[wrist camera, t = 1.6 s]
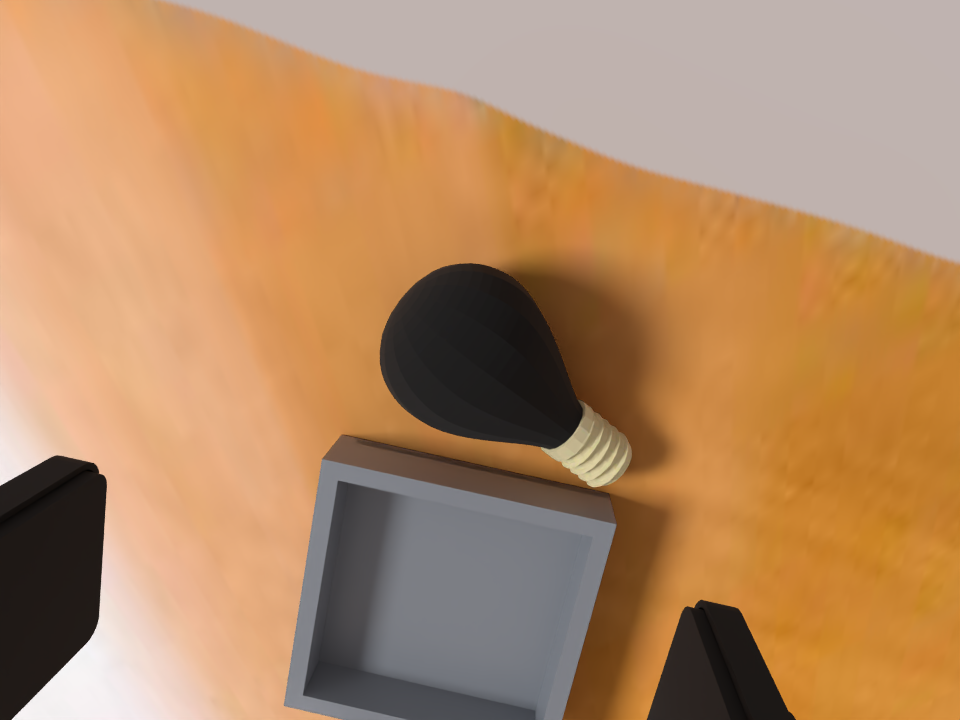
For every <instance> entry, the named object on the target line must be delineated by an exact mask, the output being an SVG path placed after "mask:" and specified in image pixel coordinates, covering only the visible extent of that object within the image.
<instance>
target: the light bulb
mask: <svg viewBox="0 0 960 720" xmlns="http://www.w3.org/2000/svg"><path fill="white" fill-rule="evenodd" d="M380 366H381V371H382V375H383V378H384V381H385V383H386V385H387V387H388V389H389V391H390V392H391V394H392V395H393V397H394V398H395V399H396V400H397V402H398V403H399V404H400V405H401V406H402V407H403V408H404V409H405V410H406V411H408V412H409V413H410V414H411V415H413V416H414V417H416V418H417V419H419V420H420V421H422V422H424V423H426V424H427V425H429V426H431V427H433V428H436V429H438V430H441V431H443V432H447V433H450V434H454V435H457V436H463V437H468V438H473V439H480V440H488V441H497V442H507V443H517V444H525V445H533V446H538V447H541V449H542V451H544V452H545V453H546V454H548V455H549V456H550V457H552V458H553V459H555V460H557V461H559V462H560V461H561V462H562V465H563V466H564V467H566V468H570V471H571V472H572V473H574V474H576V475H577V474H578V477H579V478H580V479H581V480H583V481H586V482H587V484H588V485H589V486H591V487H598V486H604V485H609V484H611V483H613V482H615V481H616V480H617V479H618V478H619V477H621V476H622V475H623V474H624V472H625V471H626V469H627V468H628V466H629V463H630V461H631V458H632V449H631V446H630V444H629V443H628V440H627V438H626V436H625V435H624V434H623V433H621V432H618V430H617V428H616V427H614V426H612V425H610V424H609V422H608V421H607V420H606V419H603V418H602V417H601V416H600V414H599V413H596V412H594V411H593V410H592V408H591V407H590V406H588V405H587V404H586V403H584V402H583V401H581V400H578V399H577V398H576V395H575V393H574V391H573V388H572V385H571V383H570V380H569V377H568V374H567V371H566V369H565V366H564V363H563V360H562V357H561V355H560V352H559V349H558V347H557V344H556V342H555V339H554V337H553V335H552V333H551V331H550V328H549V326H548V324H547V322H546V321H545V319H544V317H543V315H542V314H541V312H540V310H539V308H538V307H537V305H536V303H535V302H534V300H533V299H532V297H531V296H530V295H529V293H528V292H527V291H526V290H525V289H524V287H523V286H522V285H521V284H520V283H519V282H517V281H516V280H515V279H514V278H512V277H511V276H509V275H507V274H506V273H504V272H502V271H500V270H498V269H495V268H492V267H489V266H485V265H481V264H472V263H468V264H455V265H450V266H445V267H442V268H440V269H437V270H435V271H433V272H431V273H430V274H428V275H427V276H425V277H424V278H422V279H421V280H419V281H418V282H417V283H416V284H415V285H414V286H413V287H411V288H410V289H409V291H408V292H407V293H406V294H405V295H404V296H403V297H402V299H401V300H400V301H399V303H398V304H397V305H396V307H395V308H394V310H393V312H392V313H391V315H390V317H389V319H388V321H387V323H386V326H385V329H384V331H383V334H382V340H381V347H380Z"/></svg>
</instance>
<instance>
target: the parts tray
mask: <svg viewBox="0 0 960 720" xmlns="http://www.w3.org/2000/svg"><path fill="white" fill-rule="evenodd" d="M616 525H617V523H616V519H615V515H614V512H613V508H612V504H611V500H610V496H609V493H604V492H600V491H595V490H590V489H586V488H581V487H577V486H572V485H568V484H563V483H559V482H554V481H550V480H545V479H541V478H536V477H532V476H527V475H523V474H518V473H513V472H509V471H504V470H500V469H495V468H491V467H486V466H482V465H477V464H473V463H468V462H464V461H459V460H455V459H450V458H445V457H441V456H436V455H432V454H427V453H423V452H418V451H414V450H409V449H405V448H400V447H396V446H391V445H387V444H382V443H377V442H373V441H368V440H364V439H359V438H355V437H350V436H346V435H341V436H340V437H339V439H338V440H337V441H336V442H335V444H334V445H333V446H332V447H331V449H330V450H329V451H328V452H327V454H326V455H325V456H324V457H323V459H322V463H321V470H320V476H319V483H318V489H317V496H316V502H315V509H314V515H313V521H312V528H311V534H310V541H309V547H308V554H307V560H306V566H305V573H304V579H303V586H302V592H301V599H300V605H299V612H298V618H297V624H296V631H295V637H294V644H293V650H292V657H291V663H290V670H289V676H288V682H287V689H286V695H285V702H284V706H287V707H291V708H295V709H299V710H304V711H308V712H312V713H317V714H321V715H325V716H330V717H334V718H338V719H343V720H562V718H563V715H564V711H565V708H566V704H567V700H568V697H569V693H570V690H571V686H572V683H573V679H574V675H575V672H576V668H577V665H578V661H579V658H580V654H581V650H582V647H583V643H584V640H585V636H586V633H587V629H588V625H589V622H590V618H591V615H592V611H593V608H594V604H595V600H596V597H597V593H598V590H599V586H600V583H601V579H602V575H603V572H604V568H605V565H606V561H607V558H608V554H609V550H610V547H611V543H612V540H613V536H614V533H615V529H616Z"/></svg>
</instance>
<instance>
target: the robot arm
mask: <svg viewBox="0 0 960 720" xmlns="http://www.w3.org/2000/svg"><path fill="white" fill-rule="evenodd" d="M106 490H107V481H106V478H105V476H104V475H102V474H99V470H98V467H97V466H96V465H95V464H94V463H91V462H86V461H82V460H77V459H73V458H68V457H64V456H54V457H51V458H49V459H47V460H46V461H44V462H42V463H40V464H39V465H37V466H35V467H33V468H31V469H30V470H28V471H26V472H24V473H22V474H21V475H19V476H17V477H15V478H14V479H12V480H10V481H8V482H6V483H5V484H3V485H1V486H0V720H12V718H13V717H14V716H15V715H16V714H17V713H18V712H19V711H20V710H21V709H22V708H23V707H24V706H25V705H26V704H27V703H28V702H29V701H30V700H31V699H32V698H33V697H34V696H35V695H36V694H37V693H38V692H39V691H40V690H41V689H42V688H43V687H44V686H45V685H46V684H47V683H48V682H49V681H50V680H51V679H52V678H53V677H54V676H55V675H56V674H57V673H58V672H59V671H60V670H61V669H62V668H63V667H64V666H65V665H66V664H67V663H68V662H69V661H70V660H71V658H72V657H73V656H74V655H75V654H76V653H77V652H78V651H79V650H80V649H81V648H82V647H83V646H84V645H85V644H86V643H87V642H88V641H89V640H90V638H91V636H92V635H93V633H94V631H95V629H96V626H97V623H98V619H99V607H100V590H101V573H102V556H103V540H104V523H105V506H106ZM647 720H796V719H795V718H794V716H793V715H792V713H790V712H788V710H787V707H786V705H785V703H784V701H783V699H782V697H781V695H780V693H779V691H778V689H777V687H776V684H775V682H774V680H773V678H772V676H771V674H770V672H769V670H768V668H767V666H766V664H765V661H764V659H763V657H762V655H761V653H760V651H759V649H758V647H757V645H756V643H755V641H754V639H753V636H752V634H751V632H750V630H749V628H748V626H747V624H746V622H745V620H744V618H743V616H742V613H741V612H740V610H739V609H738V608H735V607H731V606H726V605H722V604H717V603H713V602H708V601H704V600H700V601H698V603H697V604H696V605H695V608H692V607H685V608H684V610H683V611H682V614H681V617H680V620H679V623H678V626H677V629H676V632H675V635H674V638H673V641H672V644H671V647H670V650H669V653H668V656H667V660H666V663H665V666H664V669H663V672H662V675H661V678H660V681H659V684H658V687H657V690H656V693H655V696H654V699H653V703H652V706H651V709H650V712H649V715H648V718H647Z"/></svg>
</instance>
